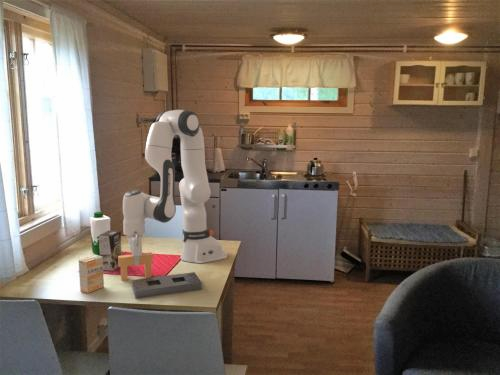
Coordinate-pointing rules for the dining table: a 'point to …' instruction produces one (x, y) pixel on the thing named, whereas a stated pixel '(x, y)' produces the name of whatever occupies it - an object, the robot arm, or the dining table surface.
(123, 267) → the orange u-shaped block
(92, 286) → the supplement box
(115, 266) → the coffee box
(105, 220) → the milk carton
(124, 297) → the dining table surface
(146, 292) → the holed rail
